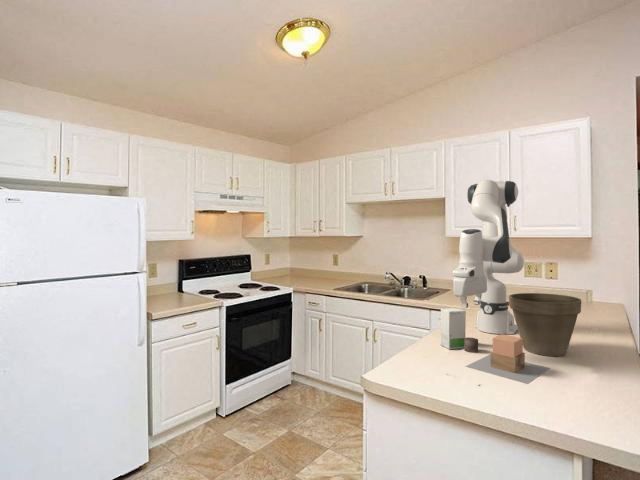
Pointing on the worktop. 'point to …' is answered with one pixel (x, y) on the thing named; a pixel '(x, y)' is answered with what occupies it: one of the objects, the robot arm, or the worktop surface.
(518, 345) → the terracotta top block
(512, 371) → the walnut base block
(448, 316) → the skincare box
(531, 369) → the slate mat
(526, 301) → the plant pot
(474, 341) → the espresso cylinder
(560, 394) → the worktop surface
